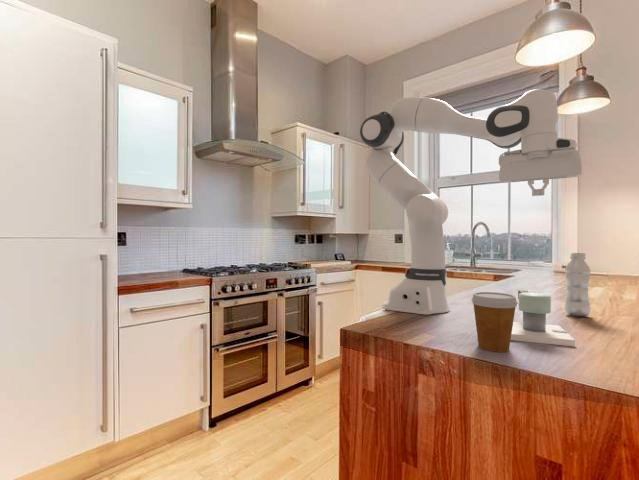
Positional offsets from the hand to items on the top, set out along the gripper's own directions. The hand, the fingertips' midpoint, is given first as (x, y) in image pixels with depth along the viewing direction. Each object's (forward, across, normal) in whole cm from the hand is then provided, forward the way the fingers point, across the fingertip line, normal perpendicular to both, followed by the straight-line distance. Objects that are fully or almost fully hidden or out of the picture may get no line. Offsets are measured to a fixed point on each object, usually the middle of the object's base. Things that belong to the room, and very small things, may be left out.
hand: (538, 195), depth 101 cm
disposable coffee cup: (+37, -6, -31) cm, 49 cm away
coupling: (+31, -1, -9) cm, 32 cm away
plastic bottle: (+37, +9, +19) cm, 43 cm away
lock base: (+37, +1, -14) cm, 40 cm away
